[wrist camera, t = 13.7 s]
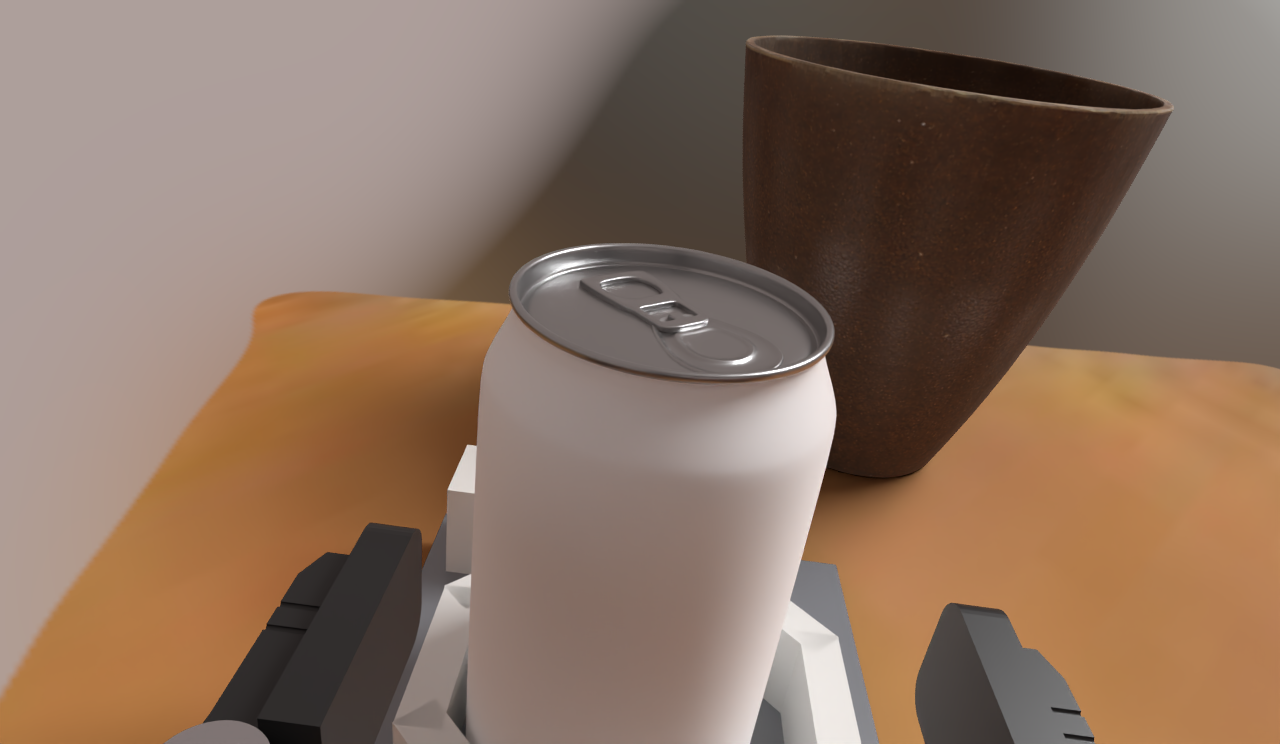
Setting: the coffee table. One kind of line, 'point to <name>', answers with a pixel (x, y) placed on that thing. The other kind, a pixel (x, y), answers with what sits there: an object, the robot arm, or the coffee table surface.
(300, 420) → the coffee table surface
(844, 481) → the coffee table surface
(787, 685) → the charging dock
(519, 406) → the can
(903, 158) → the plant pot
